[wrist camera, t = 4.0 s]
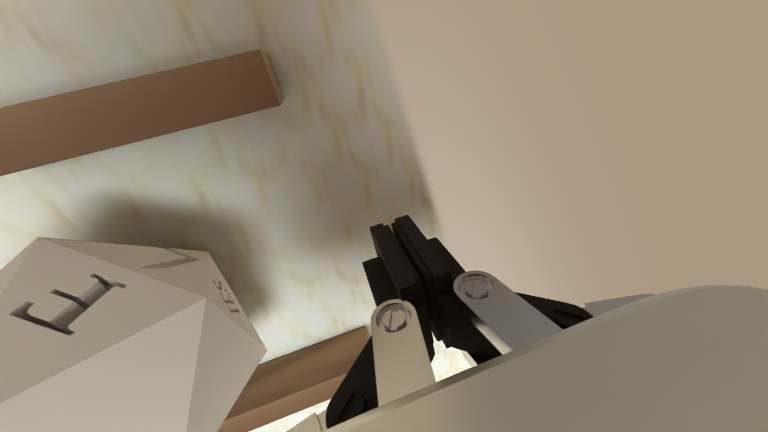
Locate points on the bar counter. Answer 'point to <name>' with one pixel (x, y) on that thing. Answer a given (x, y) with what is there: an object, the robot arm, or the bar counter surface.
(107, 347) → the die
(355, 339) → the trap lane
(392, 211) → the bar counter surface
